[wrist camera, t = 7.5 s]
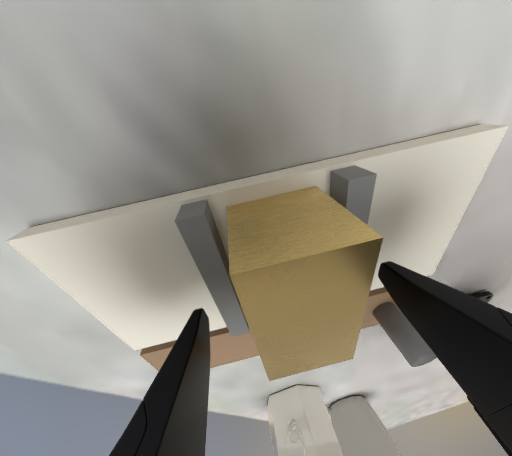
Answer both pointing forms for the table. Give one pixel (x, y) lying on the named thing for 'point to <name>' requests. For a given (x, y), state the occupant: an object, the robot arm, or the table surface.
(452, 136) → the door board
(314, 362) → the bar
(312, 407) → the jar
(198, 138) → the table surface
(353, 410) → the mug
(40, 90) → the table surface
